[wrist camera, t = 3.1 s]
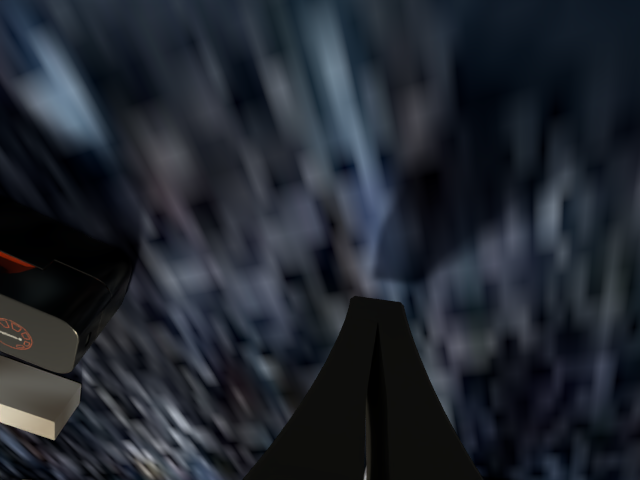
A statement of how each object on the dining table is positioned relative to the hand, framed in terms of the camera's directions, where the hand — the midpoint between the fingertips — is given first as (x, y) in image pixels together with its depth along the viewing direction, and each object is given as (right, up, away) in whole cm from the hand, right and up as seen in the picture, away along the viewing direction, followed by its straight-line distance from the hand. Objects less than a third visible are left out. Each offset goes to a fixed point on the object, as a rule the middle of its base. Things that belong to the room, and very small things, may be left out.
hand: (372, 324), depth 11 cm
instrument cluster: (-12, +2, +3) cm, 12 cm away
